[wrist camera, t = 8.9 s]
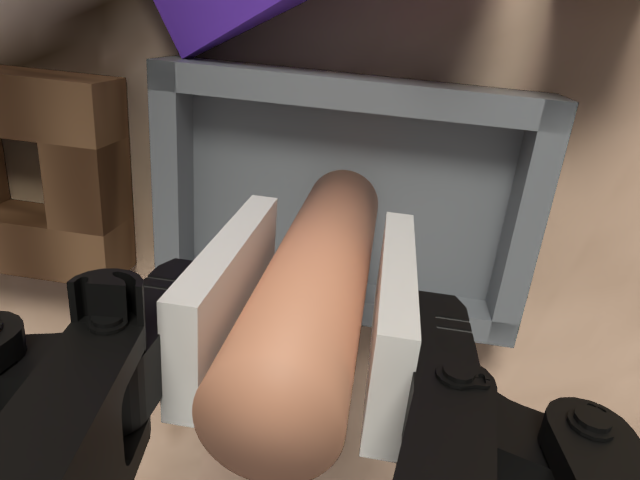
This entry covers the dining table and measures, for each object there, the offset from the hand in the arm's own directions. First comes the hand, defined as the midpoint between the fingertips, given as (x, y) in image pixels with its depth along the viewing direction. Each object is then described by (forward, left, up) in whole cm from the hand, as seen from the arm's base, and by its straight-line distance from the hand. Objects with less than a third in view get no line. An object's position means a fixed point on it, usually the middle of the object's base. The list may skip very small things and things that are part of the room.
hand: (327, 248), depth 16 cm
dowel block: (-13, -1, -6) cm, 14 cm away
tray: (0, 0, -6) cm, 6 cm away
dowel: (0, 0, -5) cm, 5 cm away
